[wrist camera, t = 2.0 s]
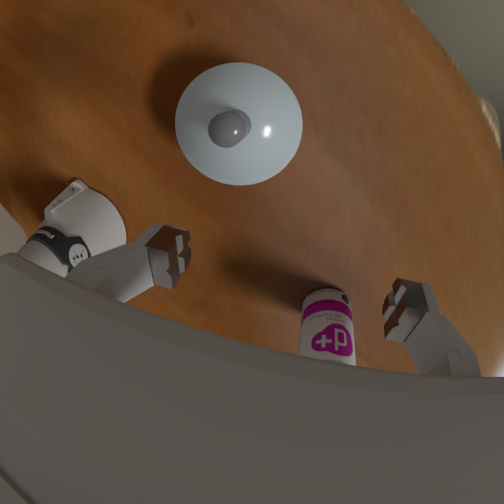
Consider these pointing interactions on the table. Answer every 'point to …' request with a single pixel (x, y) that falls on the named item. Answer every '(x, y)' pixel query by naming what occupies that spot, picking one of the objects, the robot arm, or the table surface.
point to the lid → (238, 123)
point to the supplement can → (327, 327)
